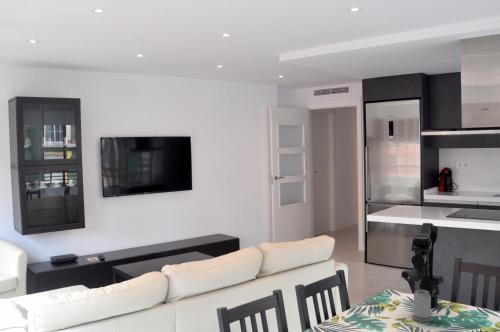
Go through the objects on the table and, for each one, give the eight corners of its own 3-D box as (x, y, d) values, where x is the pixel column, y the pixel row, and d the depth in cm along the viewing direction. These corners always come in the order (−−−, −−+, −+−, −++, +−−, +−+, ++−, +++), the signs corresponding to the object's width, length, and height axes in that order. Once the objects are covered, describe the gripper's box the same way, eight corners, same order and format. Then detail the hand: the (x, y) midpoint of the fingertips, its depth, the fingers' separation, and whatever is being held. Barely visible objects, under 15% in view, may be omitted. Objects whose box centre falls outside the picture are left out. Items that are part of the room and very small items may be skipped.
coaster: (408, 319, 228) (408, 316, 228) (418, 314, 234) (418, 311, 234) (426, 324, 221) (426, 321, 221) (436, 318, 227) (436, 316, 227)
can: (428, 313, 231) (427, 288, 230) (432, 319, 224) (432, 293, 223) (412, 313, 232) (411, 288, 231) (416, 319, 224) (416, 293, 224)
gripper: (394, 262, 228) (395, 294, 229) (432, 269, 214) (432, 303, 215) (407, 257, 235) (407, 289, 236) (444, 264, 221) (444, 297, 222)
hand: (422, 295), depth 227 cm, fingers open, 9 cm apart
